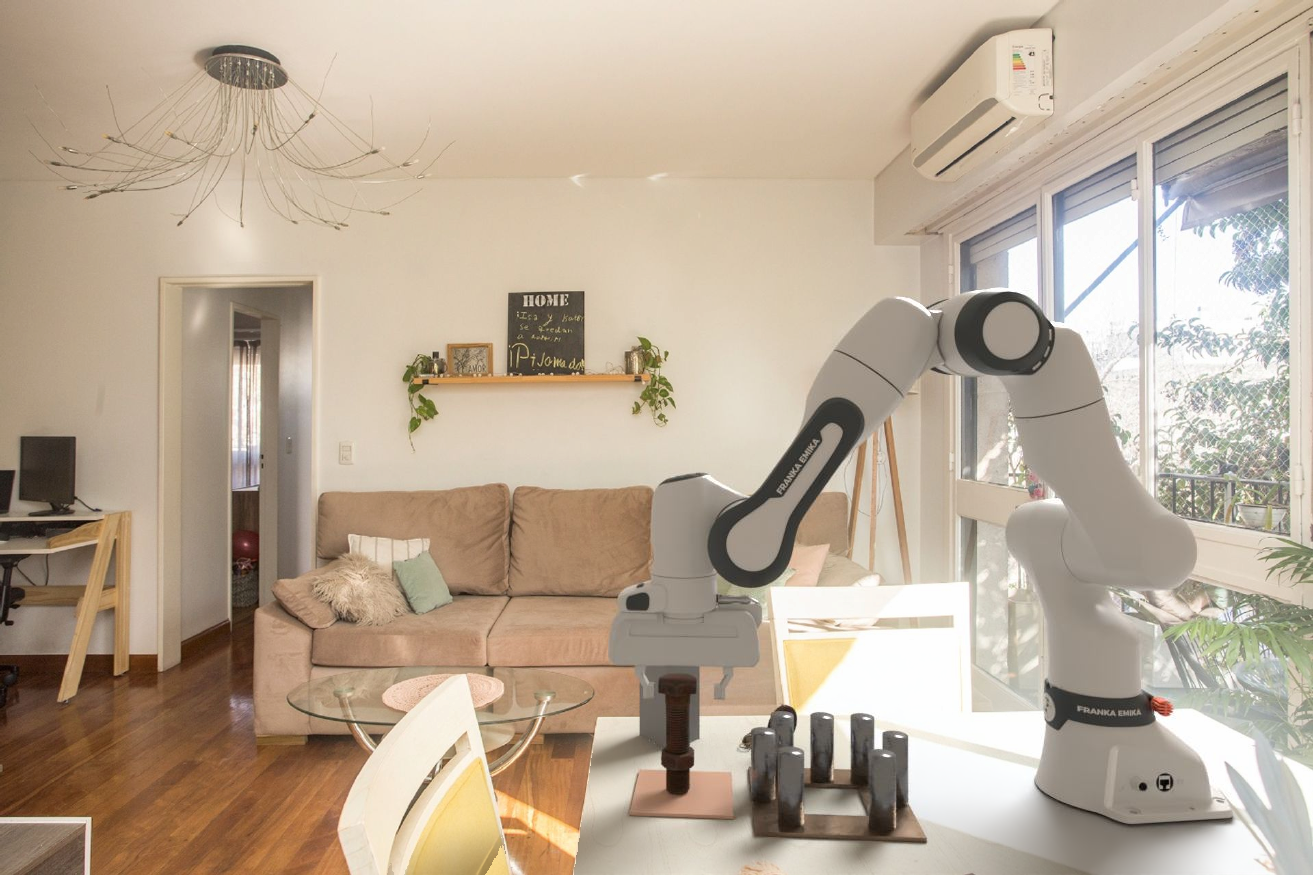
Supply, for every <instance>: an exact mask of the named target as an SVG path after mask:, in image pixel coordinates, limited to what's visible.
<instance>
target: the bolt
mask: <svg viewBox="0 0 1313 875" xmlns="http://www.w3.org/2000/svg"><path fill="white" fill-rule="evenodd" d="M696 692H697V678H696V677H694V676H692V675H690V674H683V673H671V674H666V675H663V676H661V677H659V682H658V693H661V694H665V703H666V746H665V747H664V748H661V751H660V754H661V755H660V757H661V758H660V765H661V766H662V767H663V768H665V770H666V790H667V791H668V792H669V793H671V794H683V793H686V792H688V791H689V789H690V771H691V769H692V768H693V767H694V766H695V749H694V748H693V747H692V746H691V744H690V743H691V742H690V734H689V733H690V721H689V720H690V695H691V694H696Z"/></svg>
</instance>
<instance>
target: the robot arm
mask: <svg viewBox="0 0 1313 875" xmlns="http://www.w3.org/2000/svg"><path fill="white" fill-rule="evenodd" d="M929 370H930V371H932V372H935V373H938V374H942V375H948V376H957V377H963V378H964V377H965V378H980V377H985V376H995V377H997V378H998V379H999V381H1000V382H1001V383H1002V385H1003V386H1004V388H1005V390H1006V393H1007V394H1008V399H1009V403H1010V404H1009V405H1010V409H1011V412H1012V417H1013V419H1014V424H1015V428H1016V432H1017V436H1018V439H1019V443H1020V446H1021V452H1022V455H1023V458H1024V462H1025V465H1026V467H1027V470H1028V471H1030V473H1031V474H1032V476H1034V477H1035V478H1036V479H1038V481H1040V482H1042V483H1043V484H1045V486H1048V487H1049V489H1051V490H1052V492H1054V494H1055V495H1056V498H1055V497H1054V498H1046V499H1045V498H1044V499H1039V500H1034V501H1028V502H1024V503H1021V504H1019V505H1018V506H1017V507H1016V508H1015V509H1013V511H1012V512H1011V514H1010V515H1009V517H1008V520H1007V522H1006V526H1005V531H1004V533H1005V536H1004V537H1005V543H1006V548H1007V550H1008V552H1009V554H1010V555H1011V556H1012V558H1013V560H1015V561H1016V562H1017V563H1018V564H1019V565H1020V566H1021V568H1022V569H1023V570H1024V572H1025V573H1026V574H1027V577H1028V578H1029V580H1030V582H1031V584H1032V586H1033V589H1034V590H1035V593H1036V596H1037V598H1038V601H1039V604H1040V607H1041V611H1042V614H1043V619H1044V624H1045V632H1046V633H1045V634H1046V650H1047V651H1046V653H1047V656H1046V658H1047V660H1046V661H1047V677H1046V678H1045V679H1044V682H1043V684H1044V685H1043V696H1042V698H1043V699H1042V703H1043V704H1042V705H1043V707H1042V710H1043V715H1044V721H1045V730H1044V736H1043V737H1044V739H1043V745H1042V750H1041V755H1040V756H1041V757H1040V759H1039V764H1038V767H1037V770H1036V773H1035V775H1034V783H1035V785H1036V786H1037V787H1038V788H1039V789H1040V791H1042V792H1043V793H1045V794H1046V795H1049V797H1051V798H1054V799H1056V800H1057V801H1060V802H1062V803H1065V804H1068V805H1069V806H1073V807H1076V808H1079V809H1083V810H1086V811H1090V812H1094V813H1098V814H1100V815H1103V816H1106V817H1108V818H1110V819H1112V820H1114V821H1117V822H1120V823H1124V824H1129V825H1130V824H1131V825H1134V824H1136V825H1137V824H1152V823H1165V822H1166V823H1168V822H1170V823H1171V822H1183V821H1197V820H1201V821H1202V820H1217V819H1218V820H1219V819H1229V818H1233V810H1231V809H1230V807H1229V806H1228V805H1227V802H1226V801H1225V799H1223V797H1222V796H1221V794H1222V793H1221V792H1220V791H1219V790H1218V789H1216V788H1215V787H1213V786H1212V785H1211V784H1210V779H1209V774H1208V770H1207V767H1206V764H1205V762H1204V761H1203V759H1202V757H1201V756H1200V754H1199V752H1197V751H1195V749H1194V748H1193V747H1191V746H1190V745H1189V744H1187V743H1186V742H1185V741H1184V740H1182V739H1181V738H1180V737H1179V736H1177V735H1176V734H1175V733H1174V732H1172V731H1171V730H1170V729H1169V728H1168V727H1166V726H1165V725H1164V724H1162V723H1161V722H1160V721H1158V720H1157V716H1156V715H1155V712H1156V713H1157V714H1158V715H1160V716H1162V717H1170V716H1171V715H1172V714H1173V713H1174V711H1173V710H1175V708H1174V705H1173V704H1172V703H1171V702H1170V701H1168V700H1166V699H1165V698H1163V697H1161V696H1154V695H1153V694H1151V693H1149V692H1147V691H1146V690H1144V689H1142V653H1141V652H1142V639H1141V635H1140V633H1139V630H1138V628H1137V627H1136V625H1135V624H1134V623H1133V622H1132V621H1131V620H1130V618H1128V617H1127V616H1126V615H1124V614H1123V613H1122V612H1121V610H1120V609H1119V608H1118V606H1117V605H1116V604H1115V602H1114V600H1113V598H1112V596H1111V594H1110V591H1109V589H1108V588H1115V589H1122V590H1126V591H1132V592H1155V591H1156V592H1157V591H1159V592H1160V591H1171V590H1174V589H1177V588H1179V587H1180V586H1181V585H1183V584H1184V582H1185V581H1186V580H1187V579H1189V577H1190V576H1191V574H1192V572H1193V571H1194V569H1195V566H1196V563H1197V559H1198V546H1197V541H1196V537H1195V535H1194V533H1193V531H1192V529H1191V527H1190V526H1189V524H1188V523H1187V522H1186V521H1185V520H1184V519H1183V518H1181V517H1180V516H1179V515H1177V514H1176V513H1174V512H1173V511H1170V510H1169V509H1168V508H1166V507H1165V506H1164V505H1163V504H1161V503H1160V502H1159V501H1158V500H1157V499H1156V498H1155V497H1154V496H1153V495H1152V494H1151V493H1150V492H1149V491H1148V490H1147V489H1146V487H1145V486H1144V485H1143V484H1142V483H1141V481H1140V480H1139V479H1138V478H1137V476H1136V474H1134V471H1133V470H1132V469H1131V467H1130V465H1129V464H1128V463H1127V461H1126V459H1125V457H1124V455H1123V453H1122V450H1121V448H1120V446H1119V443H1118V441H1117V436H1116V433H1115V431H1114V430H1115V429H1114V427H1113V426H1114V425H1113V423H1112V420H1111V416H1110V413H1109V409H1108V405H1107V402H1106V398H1105V394H1104V390H1103V386H1102V383H1101V380H1100V377H1099V375H1098V374H1099V373H1098V371H1097V368H1096V365H1095V364H1094V361H1093V359H1092V355H1091V354H1090V351H1089V349H1088V347H1087V345H1086V343H1085V341H1084V340H1083V337H1082V335H1081V333H1080V332H1079V331H1078V330H1077V329H1076V328H1074V327H1073V326H1072V325H1070V324H1067V323H1062V322H1057V321H1056V322H1055V321H1050V320H1049V319H1048V318H1047V317H1046V316H1045V313H1044V312H1043V310H1042V309H1041V307H1040V306H1039V305H1038V304H1037V303H1036V301H1035V300H1032V298H1031V297H1029V296H1027V295H1026V294H1025V293H1023V292H1020V291H1018V290H1014V289H1010V288H1005V287H993V288H987V289H981V290H979V289H978V290H972V291H965V292H962V293H960V294H957V295H956V296H953V297H950V298H944V299H942V300H940V301H937V302H934V303H932V304H930V305H929V306H926V307H924V306H923V305H922V304H920V303H919V302H917V301H915V300H913V299H911V298H908V297H903V296H890V297H889V296H888V297H885V298H883V299H881V300H879V301H877V302H876V303H875V304H874V305H873V306H872V307H871V308H870V309H869V310H868V311H867V312H865V314H864V315H862V317H860V318H859V320H858V321H856V323H855V324H854V325H852V327H851V328H850V329H849V330H848V331H847V333H846V334H845V335H844V336H843V338H841V340H840V341H839V343H837V345H836V346H835V348H834V349H833V351H831V353H830V355H829V356H828V357H827V359H826V360H825V361H824V363H823V365H822V366H821V368H820V370H819V372H818V373H817V375H816V377H815V378H814V381H813V382H812V384H811V387H810V389H809V391H808V393H807V396H806V400H805V401H806V402H805V408H804V413H803V417H802V420H801V424H800V425H799V426H800V427H799V429H798V431H797V433H796V434H795V437H794V438H793V440H792V442H791V444H790V445H789V447H788V448H787V449H786V451H785V452H784V453H783V455H782V456H781V458H780V459H779V460H778V461H777V463H776V465H775V466H774V467H773V469H771V471H770V473H769V474H768V475H767V476H766V478H765V480H764V481H763V482H762V484H761V485H760V487H759V488H757V489H756V491H755V492H754V493H753V494H752V495H748V494H744V493H741V492H739V491H737V490H735V489H733V488H731V487H729V486H727V485H725V484H724V483H721V482H720V481H718V480H716V479H715V478H714V477H713V476H711V475H710V474H709V473H706V472H695V473H693V472H692V473H687V474H681V475H676V476H673V477H668V478H666V479H665V480H663V481H662V482H660V483H659V484H658V485H657V487H656V488H655V490H654V491H653V492H654V493H653V496H652V503H651V511H650V512H651V513H650V514H651V515H650V542H651V547H652V551H653V560H652V564H651V568H650V579H649V580H646V581H643V582H639V583H636V584H633V585H629V586H627V587H625V588H623V590H621V591H620V592H619V594H618V596H617V602H616V603H617V609H618V611H617V612H616V613H615V614H614V616H613V619H612V620H611V621H612V622H611V624H610V625H611V626H610V630H609V631H610V632H609V638H608V648H607V657H608V659H609V661H610V662H611V663H612V664H613V665H615V666H634V674H635V675H634V676H636V678H637V680H638V681H639V684H640V683H641V685H642V686H643V698H645V699H647V698H654V697H655V690H654V689H655V682H649V681H648V679H647V677H646V675H645V671H646V666H700V668H701V667H707V668H708V667H709V668H711V667H713V668H714V667H715V668H722V675H723V677H722V678H721V681H720V683H714V685H713V690H714V691H713V694H714V695H713V699H714V701H726V688H727V687H728V685H729V683H730V682H731V680H732V678H733V677H734V668H755V667H756V666H757V665H758V664H759V663H760V661H761V647H760V640H759V632H758V629H759V628H760V627H761V625H762V622H763V607H762V605H761V603H760V602H759V601H758V600H756V599H755V598H752V597H751V595H746V594H741V595H731V594H718V593H717V591H718V585H717V584H718V583H717V582H718V578H717V577H718V575H719V576H720V577H721V578H722V579H723V580H725V581H726V582H728V583H730V584H732V585H734V586H737V587H740V588H746V589H756V588H762V587H764V586H767V585H769V584H772V583H773V582H775V581H776V580H778V579H779V578H780V577H781V576H782V575H783V574H784V572H785V571H786V569H787V568H788V566H789V564H790V562H791V559H792V555H793V551H794V547H795V542H796V537H797V533H798V529H799V527H800V524H801V522H802V521H803V519H804V517H805V516H806V515H807V513H808V512H809V510H810V508H811V507H812V506H813V504H814V503H815V501H817V499H818V497H819V496H820V494H821V493H822V492H823V490H824V489H825V488H826V486H827V485H828V483H829V482H830V481H831V479H832V477H833V476H834V475H835V473H836V472H837V471H838V469H839V468H840V466H841V465H842V464H843V462H844V461H845V460H847V458H848V457H849V456H850V455H851V454H852V453H853V452H854V451H855V450H857V449H858V448H859V447H860V446H861V445H863V444H864V443H865V441H867V440H868V439H869V438H870V437H871V436H872V435H873V434H875V432H876V431H877V430H879V428H881V426H883V424H884V423H885V422H886V421H887V420H888V419H889V418H890V417H891V416H892V415H893V413H894V412H895V411H896V409H897V408H898V407H899V406H900V404H901V403H902V402H903V401H904V399H905V397H906V396H907V394H908V393H909V392H910V391H911V389H912V388H913V386H914V385H915V383H916V381H917V380H919V379H920V378H921V377H922V376H923V375H924V374H925V373H927V372H928V371H929ZM1057 497H1058V498H1057ZM717 574H718V575H717ZM1219 792H1220V793H1221V794H1220V793H1219Z"/></svg>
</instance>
